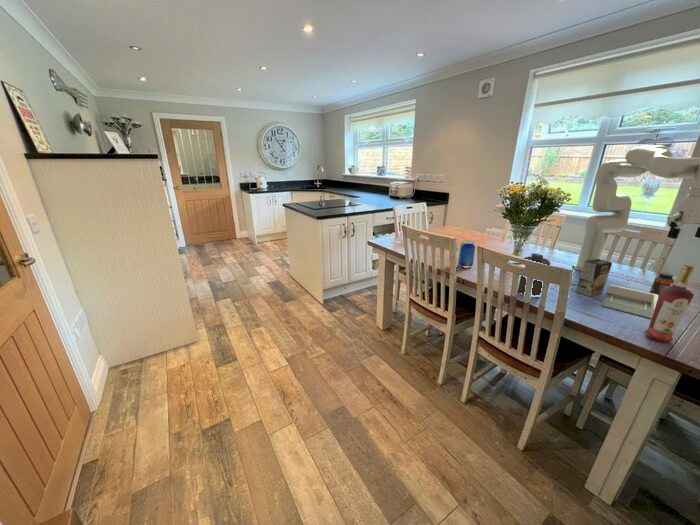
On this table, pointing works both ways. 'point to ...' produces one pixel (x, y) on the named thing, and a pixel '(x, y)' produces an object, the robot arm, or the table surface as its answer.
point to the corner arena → (630, 301)
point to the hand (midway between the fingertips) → (685, 237)
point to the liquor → (670, 307)
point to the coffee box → (593, 277)
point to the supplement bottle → (661, 282)
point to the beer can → (466, 253)
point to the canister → (536, 284)
